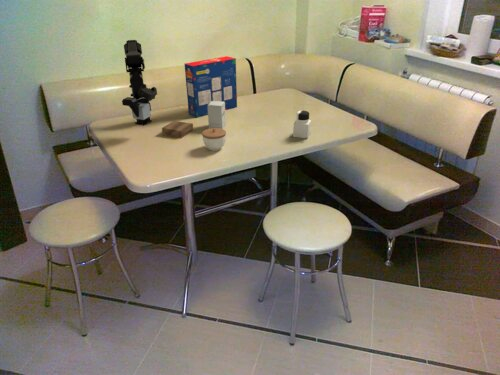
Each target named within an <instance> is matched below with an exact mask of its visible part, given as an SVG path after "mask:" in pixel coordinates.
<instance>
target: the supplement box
mask: <svg viewBox="0 0 500 375" xmlns="http://www.w3.org/2000/svg"><path fill="white" fill-rule="evenodd" d="M207 117H208V118H207V119H208V129H211V128H220V129H223V130H224V127H225V126H226V110H225V102H222V101H211V102H210V103H209V104H208V115H207Z"/></svg>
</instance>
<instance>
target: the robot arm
mask: <svg viewBox="0 0 500 375" xmlns="http://www.w3.org/2000/svg"><path fill="white" fill-rule="evenodd" d="M123 49H124V50H123V51H124V55H125V57H124V62H125V70H126V73H129V86H128V87H129V88H130V89H131V93H130V97H128V96H127V97H124V98H123V99H122V100H121V103H122V106H127V107H129V109H131V112H132V111H133V112H134V114H135V115H136V117H139V108H138V107H139V105H140V104H138V103H147V104H149V105H150V112H151V111H152V107H151V105H152V104H151V101H152V100H154V99H156V95H158V89H157V87H156V86H152V87H151V88H148V86H147V84H146V83H144V77H143V72H145V69H146V66H145V58H143V56H142V55H143V50H142V44H141V43H139V42H138V40H137V39H129V40H126V41H125V43H124V44H123ZM151 122H152V120H151V116H150V117H148V118H146V119H144V120H142V119H136V121H135V122H134V123H135V124H136V125H143V126H146V125H148V124H150V123H151Z"/></svg>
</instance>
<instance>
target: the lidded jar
mask: <svg viewBox="0 0 500 375" xmlns="http://www.w3.org/2000/svg"><path fill="white" fill-rule="evenodd" d="M226 134H227V132H226V130H225V129H224V128H223V129H220V128H211V129H209V128H207V129H204V130H203V131H202V132H201V136H202V141H203V144H204V146H205V147H206V148H207V149H208V150H209V151H213V152H215V151H220V150H221V149H222V148H223V147H224V146H225V144H226V141H227V139H226V138H227V135H226Z"/></svg>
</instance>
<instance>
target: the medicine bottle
mask: <svg viewBox="0 0 500 375" xmlns="http://www.w3.org/2000/svg"><path fill="white" fill-rule="evenodd" d="M295 119H296V120H294V122H293V129H292V130H293V133H292V134H293V136H292V137H293V138H299V139H309V137H310V135H311V131H312V130H311V128H312V120H311V119H310V112H309V111H307V110H298V111H297V112H296V116H295Z"/></svg>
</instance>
